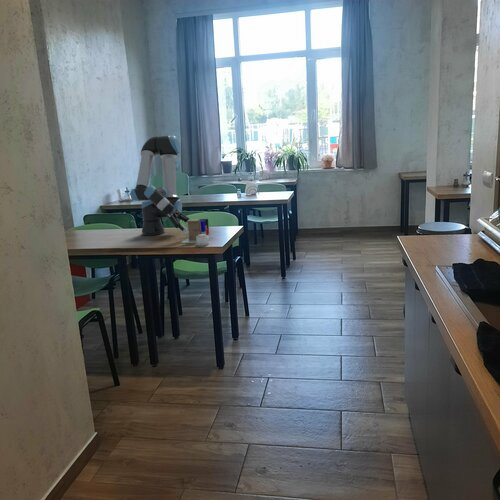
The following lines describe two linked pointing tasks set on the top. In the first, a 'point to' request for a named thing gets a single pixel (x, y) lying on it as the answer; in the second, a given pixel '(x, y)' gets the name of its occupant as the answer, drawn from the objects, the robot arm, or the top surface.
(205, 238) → the sugar bowl
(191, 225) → the walnut block
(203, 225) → the puzzle toy
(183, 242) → the pad
